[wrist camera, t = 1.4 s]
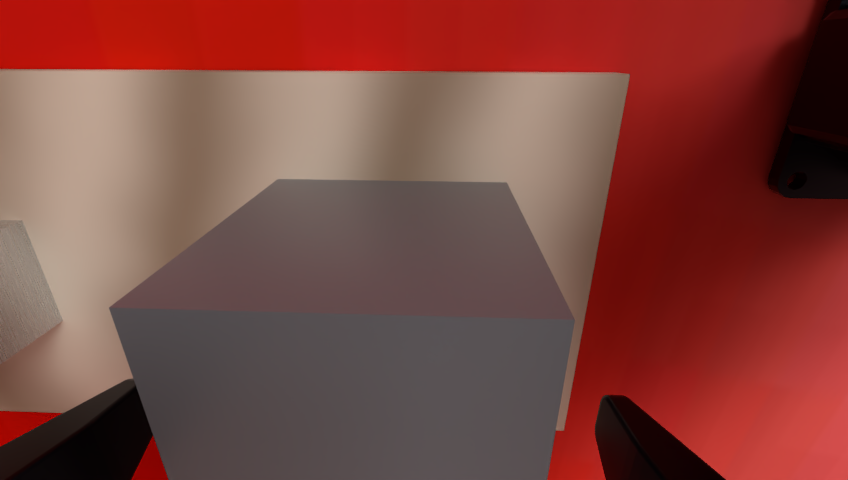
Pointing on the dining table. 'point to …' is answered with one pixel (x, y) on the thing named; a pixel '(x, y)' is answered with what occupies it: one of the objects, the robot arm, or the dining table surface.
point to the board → (270, 176)
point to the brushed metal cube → (22, 292)
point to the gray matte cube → (354, 338)
